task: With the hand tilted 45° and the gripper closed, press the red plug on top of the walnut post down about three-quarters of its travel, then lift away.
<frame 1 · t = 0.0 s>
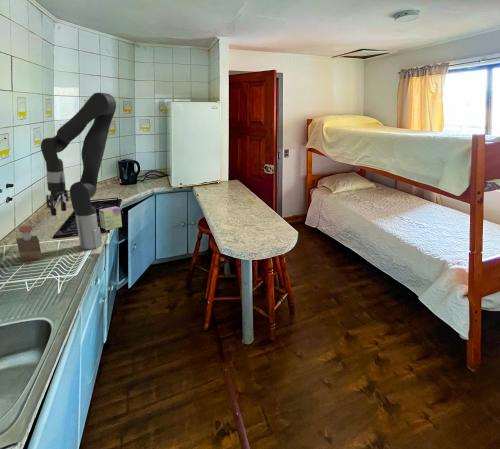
hand: (59, 213, 165), 17 cm above the worktop, tool pointing down, fingers open, 8 cm apart
plug: (27, 236, 153), point 10 cm above the worktop, slide at 4.0 cm
box: (111, 228, 199), on the worktop
plug housing: (31, 257, 156), on the worktop
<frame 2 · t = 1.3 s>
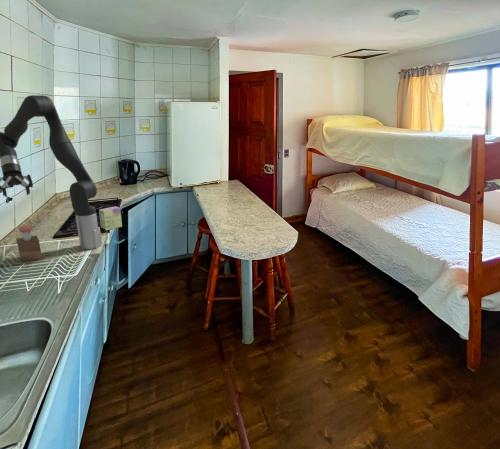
hand: (17, 195, 158), 27 cm above the worktop, tool tilted 45°, fingers open, 8 cm apart
nothing on the worktop moved.
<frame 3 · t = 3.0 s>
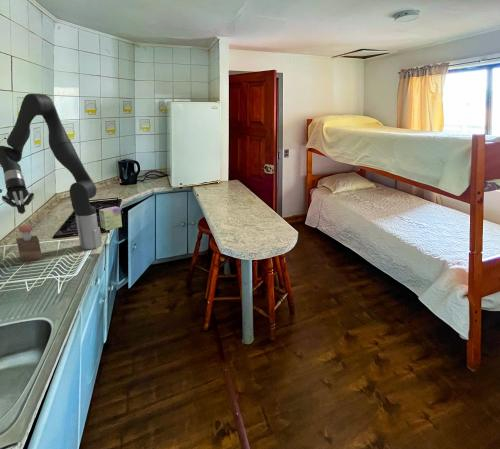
hand: (22, 212, 152), 21 cm above the worktop, tool tilted 45°, fingers closed
nothing on the worktop moved.
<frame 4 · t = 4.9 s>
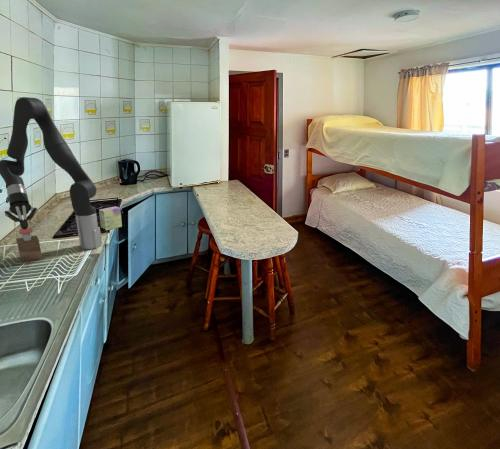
hand: (25, 228, 151), 15 cm above the worktop, tool tilted 45°, fingers closed
plug: (27, 239, 153), point 9 cm above the worktop, slide at 2.9 cm, touching gripper
everything else where it was.
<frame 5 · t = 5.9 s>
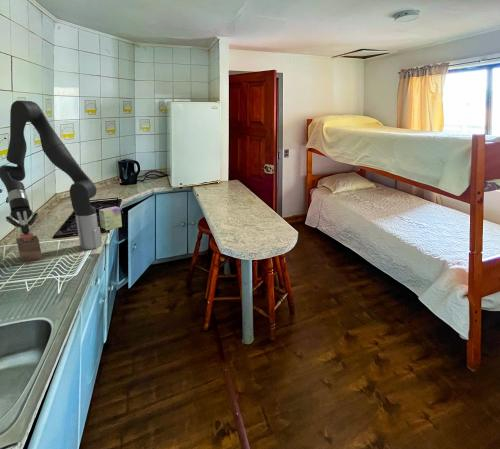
hand: (26, 233, 152), 12 cm above the worktop, tool tilted 45°, fingers closed
plug: (28, 244, 154), point 7 cm above the worktop, slide at 0.5 cm, touching gripper
everything else where it was.
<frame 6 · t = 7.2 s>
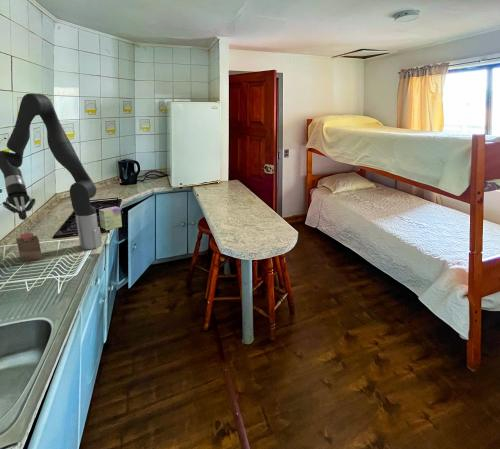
hand: (23, 218, 150), 19 cm above the worktop, tool tilted 45°, fingers closed
plug: (28, 244, 154), point 7 cm above the worktop, slide at 0.4 cm
everything else where it was.
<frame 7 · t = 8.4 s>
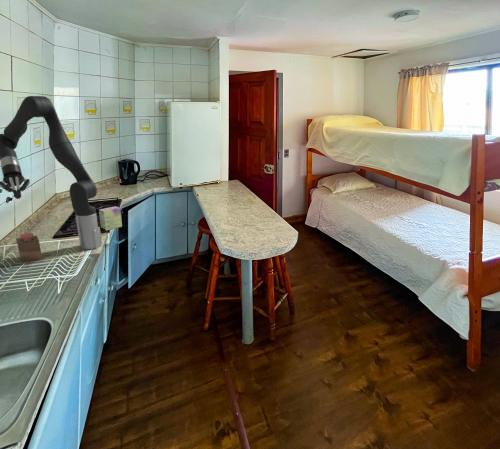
hand: (18, 197, 158), 26 cm above the worktop, tool tilted 45°, fingers closed
nothing on the worktop moved.
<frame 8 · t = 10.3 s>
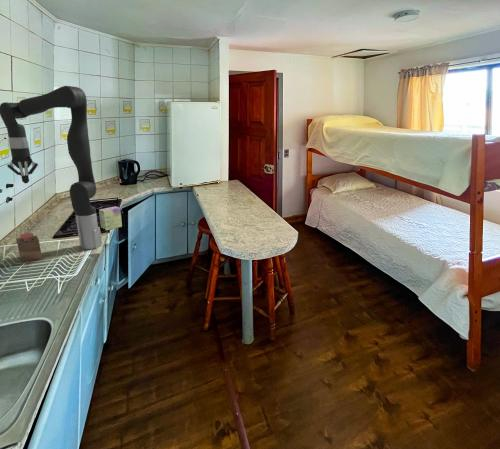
hand: (26, 183, 166), 31 cm above the worktop, tool pointing down, fingers closed
nothing on the worktop moved.
at the end: plug slide at 0.4 cm; box moved 0.3 cm from its start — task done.
